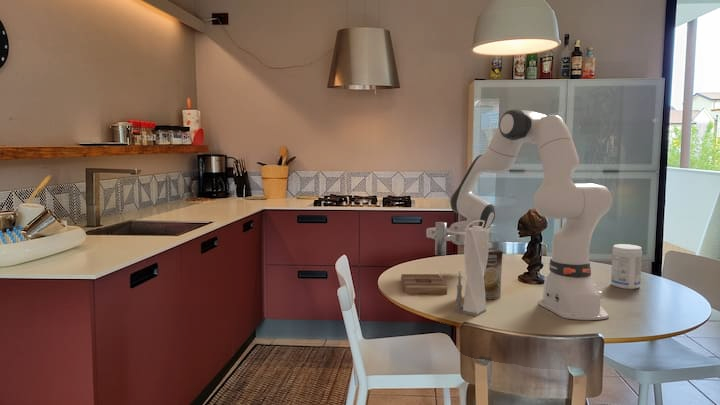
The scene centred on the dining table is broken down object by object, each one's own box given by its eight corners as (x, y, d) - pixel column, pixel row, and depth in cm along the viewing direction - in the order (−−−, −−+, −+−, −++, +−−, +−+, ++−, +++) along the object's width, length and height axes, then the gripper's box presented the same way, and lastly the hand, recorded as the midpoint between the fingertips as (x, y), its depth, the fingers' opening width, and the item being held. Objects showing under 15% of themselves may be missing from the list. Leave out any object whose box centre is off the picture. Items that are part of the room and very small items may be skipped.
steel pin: (446, 255, 192) (447, 223, 191) (435, 255, 192) (436, 223, 191) (445, 253, 196) (445, 221, 195) (434, 253, 196) (434, 221, 195)
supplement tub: (631, 282, 195) (633, 243, 194) (645, 289, 186) (648, 248, 184) (605, 282, 195) (607, 243, 193) (618, 289, 186) (621, 248, 184)
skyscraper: (467, 305, 167) (470, 218, 164) (491, 310, 162) (494, 221, 158) (454, 311, 160) (457, 221, 157) (478, 317, 155) (481, 224, 152)
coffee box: (477, 300, 172) (478, 252, 170) (467, 295, 178) (468, 249, 176) (501, 298, 174) (502, 251, 173) (490, 293, 180) (492, 247, 179)
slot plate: (446, 294, 179) (447, 287, 179) (406, 294, 179) (406, 287, 178) (438, 280, 197) (438, 274, 196) (401, 280, 197) (401, 274, 196)
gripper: (438, 222, 210) (417, 226, 200) (483, 227, 196) (462, 232, 186) (438, 237, 210) (416, 242, 201) (482, 244, 196) (462, 249, 186)
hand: (439, 237), depth 193 cm, fingers closed on steel pin, 4 cm apart
